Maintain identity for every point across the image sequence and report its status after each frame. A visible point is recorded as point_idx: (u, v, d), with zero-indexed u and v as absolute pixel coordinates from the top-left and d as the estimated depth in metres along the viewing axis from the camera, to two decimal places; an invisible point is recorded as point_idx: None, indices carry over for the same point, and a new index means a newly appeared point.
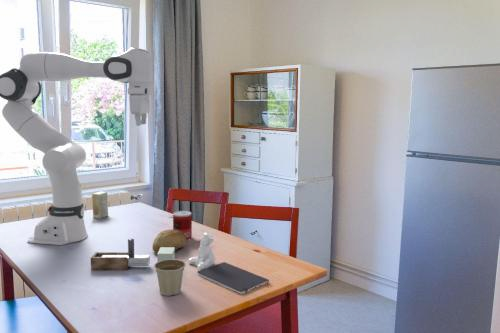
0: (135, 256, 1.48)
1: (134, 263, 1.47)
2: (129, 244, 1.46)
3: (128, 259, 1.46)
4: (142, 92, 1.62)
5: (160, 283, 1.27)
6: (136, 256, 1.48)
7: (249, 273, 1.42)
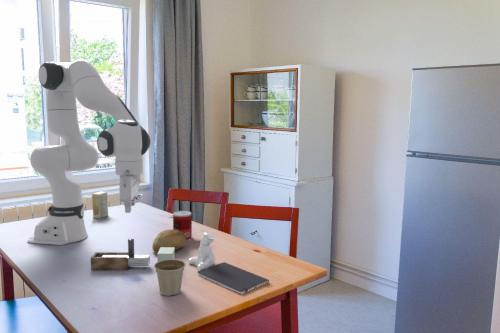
0: (135, 256, 1.48)
1: (134, 263, 1.47)
2: (129, 244, 1.46)
3: (128, 259, 1.46)
4: None
5: (160, 283, 1.27)
6: (136, 256, 1.48)
7: (249, 273, 1.42)
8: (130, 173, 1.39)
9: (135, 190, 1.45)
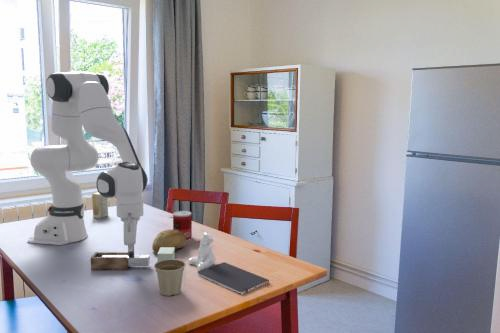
0: (135, 256, 1.48)
1: (134, 263, 1.47)
2: None
3: (128, 259, 1.46)
4: None
5: (160, 283, 1.27)
6: (136, 256, 1.48)
7: (249, 273, 1.42)
8: (132, 216, 1.41)
9: None
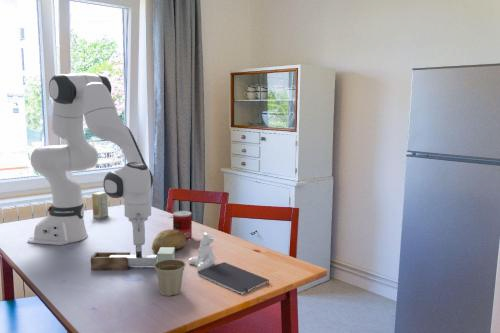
0: (143, 256, 1.48)
1: (142, 263, 1.47)
2: None
3: (136, 259, 1.46)
4: None
5: (160, 283, 1.27)
6: (144, 256, 1.48)
7: (249, 273, 1.42)
8: (141, 216, 1.42)
9: None
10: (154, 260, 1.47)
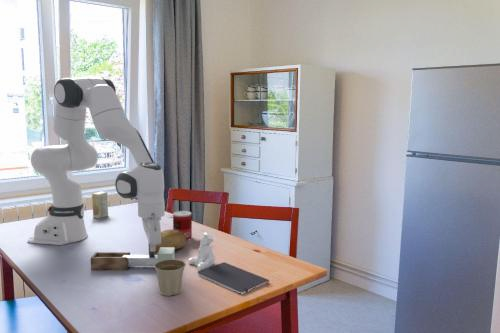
0: (155, 256, 1.48)
1: (155, 263, 1.47)
2: None
3: (149, 259, 1.47)
4: None
5: (160, 283, 1.27)
6: (156, 256, 1.48)
7: (249, 273, 1.42)
8: (156, 216, 1.42)
9: None
10: None
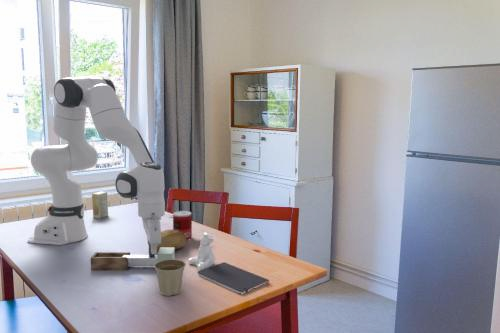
0: (155, 256, 1.48)
1: (155, 263, 1.47)
2: None
3: (149, 259, 1.47)
4: None
5: (160, 283, 1.27)
6: (156, 256, 1.48)
7: (249, 273, 1.42)
8: (156, 215, 1.42)
9: None
10: None
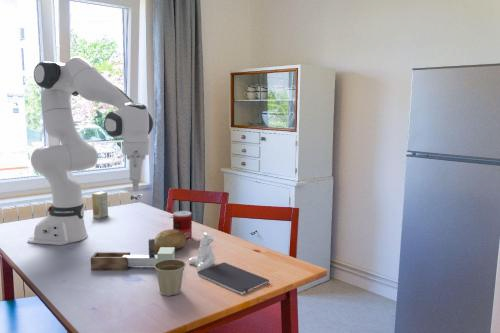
0: (155, 256, 1.48)
1: None
2: (150, 244, 1.46)
3: (149, 259, 1.47)
4: None
5: (160, 283, 1.27)
6: (156, 256, 1.48)
7: (249, 273, 1.42)
8: (138, 154, 1.47)
9: None
10: None
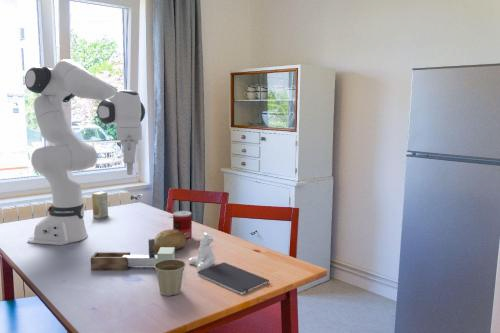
0: (155, 256, 1.48)
1: (155, 263, 1.47)
2: (150, 244, 1.46)
3: (149, 259, 1.47)
4: None
5: (160, 283, 1.27)
6: (156, 256, 1.48)
7: (249, 273, 1.42)
8: (132, 138, 1.51)
9: None
10: None
